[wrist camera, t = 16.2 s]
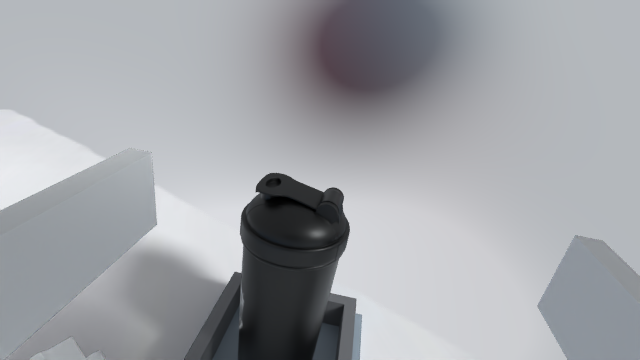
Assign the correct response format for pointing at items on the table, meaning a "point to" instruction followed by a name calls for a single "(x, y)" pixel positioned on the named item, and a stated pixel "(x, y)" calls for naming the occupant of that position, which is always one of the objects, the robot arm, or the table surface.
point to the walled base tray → (223, 329)
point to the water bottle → (288, 267)
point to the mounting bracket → (67, 352)
